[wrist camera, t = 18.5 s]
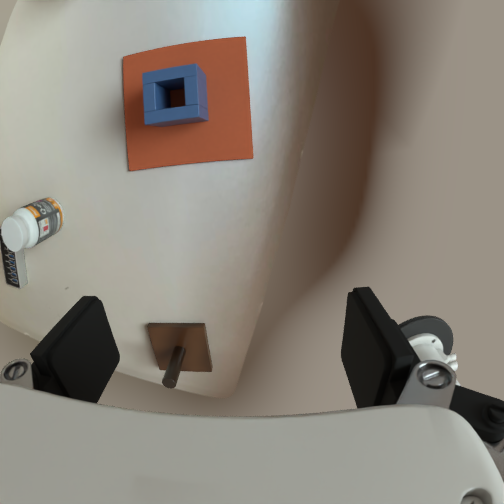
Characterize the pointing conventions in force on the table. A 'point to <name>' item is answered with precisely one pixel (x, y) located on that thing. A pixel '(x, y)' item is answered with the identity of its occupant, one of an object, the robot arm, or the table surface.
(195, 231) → the table surface
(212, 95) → the mat
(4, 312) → the table surface
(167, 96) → the blue block
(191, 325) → the dowel stand
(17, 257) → the multiport hub
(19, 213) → the pill bottle
